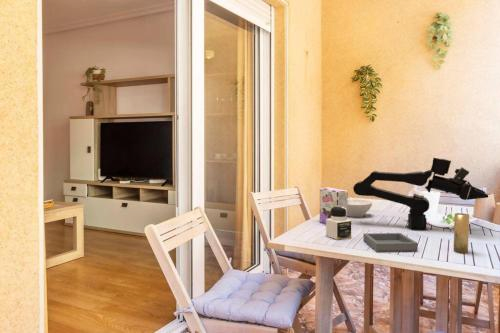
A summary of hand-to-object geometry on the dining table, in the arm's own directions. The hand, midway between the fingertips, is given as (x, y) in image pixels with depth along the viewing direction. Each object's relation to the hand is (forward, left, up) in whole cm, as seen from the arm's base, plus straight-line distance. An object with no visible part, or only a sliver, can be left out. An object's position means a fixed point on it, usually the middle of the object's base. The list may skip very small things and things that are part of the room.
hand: (486, 194), depth 156 cm
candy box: (-57, +21, -16) cm, 63 cm away
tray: (-45, -15, -16) cm, 50 cm away
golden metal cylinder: (-23, -23, -16) cm, 36 cm away
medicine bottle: (-60, -1, -16) cm, 62 cm away
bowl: (-41, +40, -16) cm, 60 cm away
